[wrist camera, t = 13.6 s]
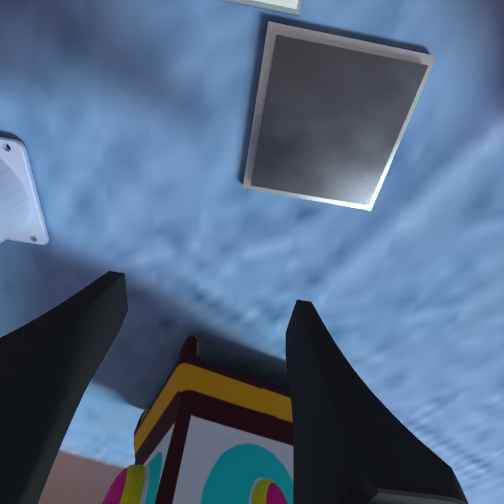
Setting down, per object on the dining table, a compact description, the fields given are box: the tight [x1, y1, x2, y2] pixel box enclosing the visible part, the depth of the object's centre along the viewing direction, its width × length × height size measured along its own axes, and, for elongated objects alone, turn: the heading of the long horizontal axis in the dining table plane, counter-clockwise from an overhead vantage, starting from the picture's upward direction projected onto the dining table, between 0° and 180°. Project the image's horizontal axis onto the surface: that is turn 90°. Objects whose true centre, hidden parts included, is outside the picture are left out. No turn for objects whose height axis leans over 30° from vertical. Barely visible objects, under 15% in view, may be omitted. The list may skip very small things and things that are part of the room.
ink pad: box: [243, 21, 437, 210], centre depth 17 cm, size 9×9×1 cm
